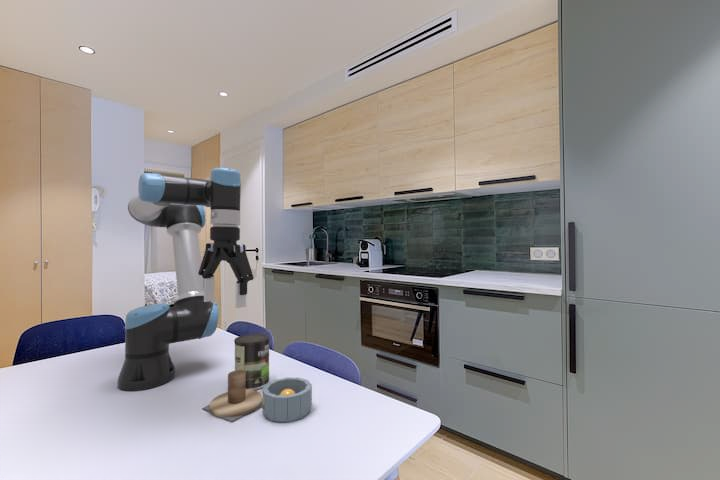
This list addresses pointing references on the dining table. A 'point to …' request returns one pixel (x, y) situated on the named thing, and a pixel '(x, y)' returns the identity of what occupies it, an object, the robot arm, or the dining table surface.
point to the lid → (236, 398)
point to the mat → (230, 419)
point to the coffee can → (253, 359)
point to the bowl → (287, 399)
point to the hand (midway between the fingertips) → (224, 304)
